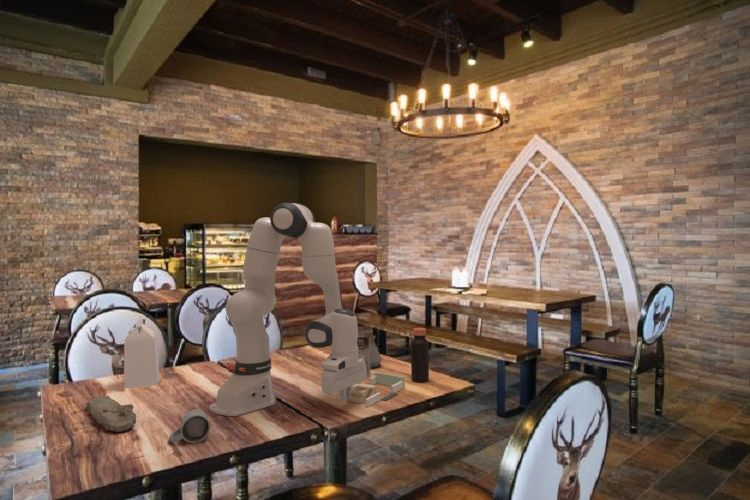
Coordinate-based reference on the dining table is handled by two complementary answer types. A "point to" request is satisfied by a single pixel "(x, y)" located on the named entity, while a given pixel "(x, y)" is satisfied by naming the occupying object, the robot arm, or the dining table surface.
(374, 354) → the coffee pot
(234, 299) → the robot arm
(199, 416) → the ceramic mug
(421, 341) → the bottle
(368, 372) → the coffee box
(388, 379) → the box
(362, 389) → the maple block
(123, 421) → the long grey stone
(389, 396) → the pads
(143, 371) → the milk
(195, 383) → the dining table surface
